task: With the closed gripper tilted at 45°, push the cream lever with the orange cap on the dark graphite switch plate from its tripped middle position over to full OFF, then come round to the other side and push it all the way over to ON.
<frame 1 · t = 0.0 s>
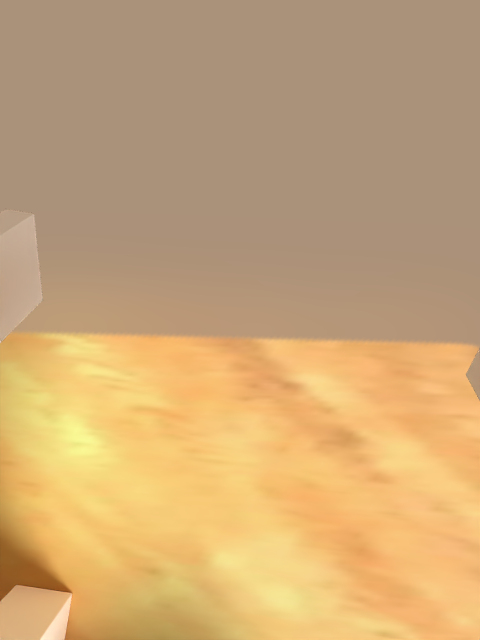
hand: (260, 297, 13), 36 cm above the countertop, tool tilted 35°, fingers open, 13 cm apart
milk: (40, 616, 47), on the countertop
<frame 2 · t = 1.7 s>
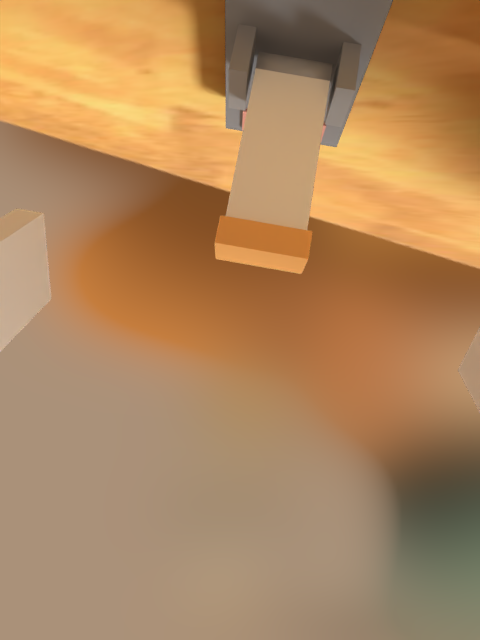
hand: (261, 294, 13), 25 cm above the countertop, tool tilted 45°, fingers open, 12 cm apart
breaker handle: (278, 155, 30), point 11 cm above the countertop, hinge at 0.0°
switch plate: (302, 22, 32), on the countertop
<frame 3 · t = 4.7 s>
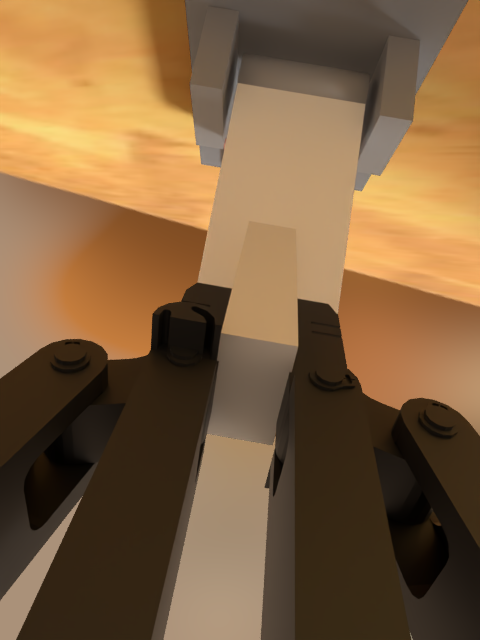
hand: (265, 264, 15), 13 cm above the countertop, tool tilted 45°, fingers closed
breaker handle: (276, 235, 17), point 11 cm above the countertop, hinge at -2.2°, touching gripper
switch plate: (315, 4, 20), on the countertop
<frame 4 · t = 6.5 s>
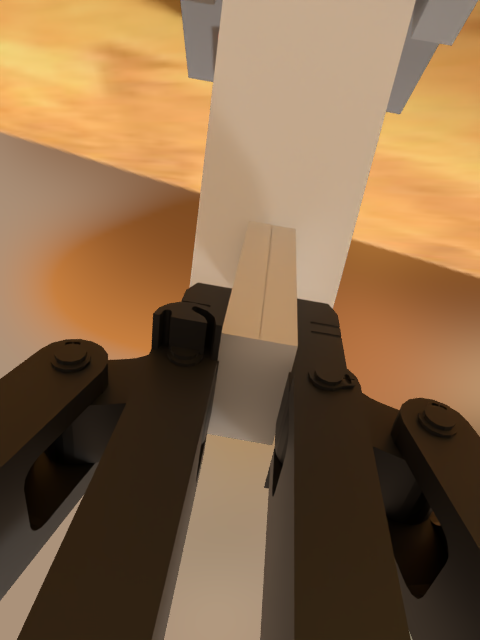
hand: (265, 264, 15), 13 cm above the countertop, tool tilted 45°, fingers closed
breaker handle: (287, 152, 14), point 10 cm above the countertop, hinge at -39.2°, touching gripper
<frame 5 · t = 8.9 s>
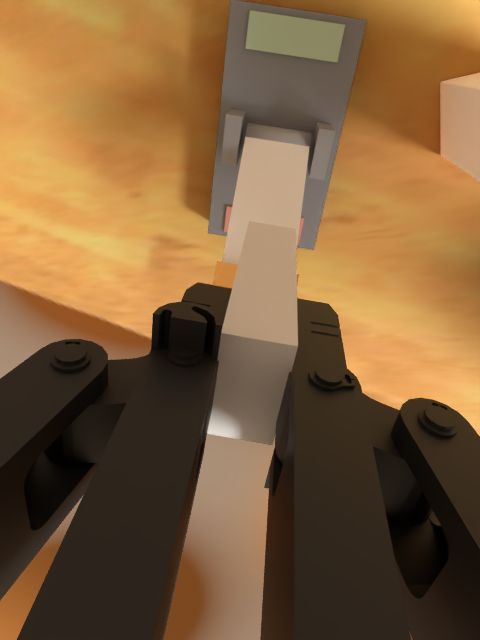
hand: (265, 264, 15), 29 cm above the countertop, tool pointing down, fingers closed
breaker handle: (266, 209, 34), point 10 cm above the countertop, hinge at -39.3°
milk: (476, 111, 38), on the countertop
switch plate: (278, 134, 40), on the countertop
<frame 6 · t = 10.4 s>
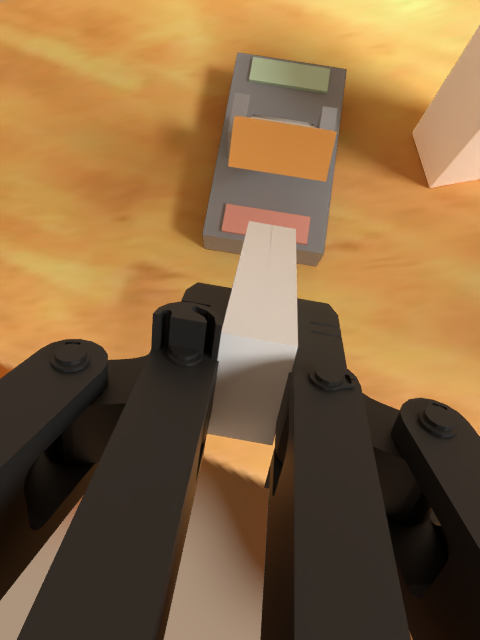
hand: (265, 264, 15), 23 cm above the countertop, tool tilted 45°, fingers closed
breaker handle: (280, 140, 31), point 10 cm above the countertop, hinge at -39.3°
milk: (448, 156, 43), on the countertop
switch plate: (274, 167, 42), on the countertop
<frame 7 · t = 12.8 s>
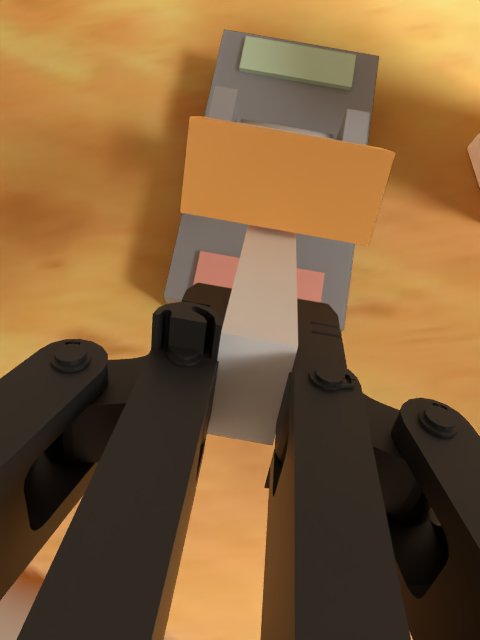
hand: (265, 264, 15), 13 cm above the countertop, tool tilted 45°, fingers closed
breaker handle: (282, 159, 19), point 10 cm above the countertop, hinge at -37.9°, touching gripper
switch plate: (274, 192, 30), on the countertop
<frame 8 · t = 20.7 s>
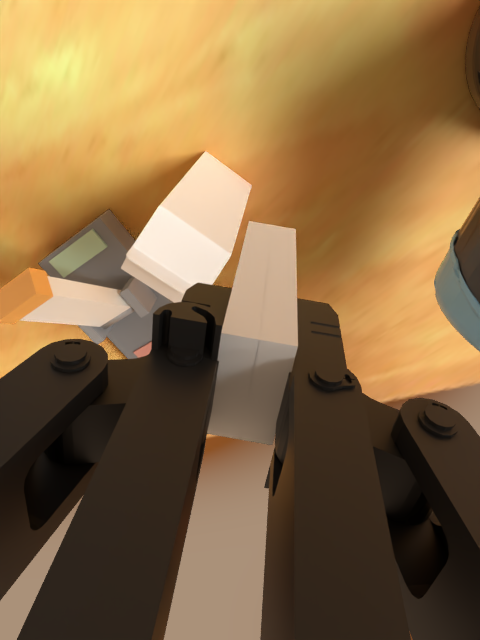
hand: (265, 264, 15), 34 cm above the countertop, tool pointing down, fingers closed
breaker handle: (75, 304, 46), point 10 cm above the countertop, hinge at 39.6°
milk: (214, 190, 49), on the countertop
switch plate: (129, 290, 56), on the countertop
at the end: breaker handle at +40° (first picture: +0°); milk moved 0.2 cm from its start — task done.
